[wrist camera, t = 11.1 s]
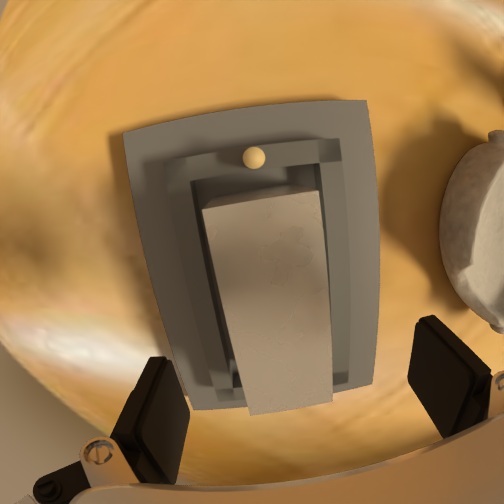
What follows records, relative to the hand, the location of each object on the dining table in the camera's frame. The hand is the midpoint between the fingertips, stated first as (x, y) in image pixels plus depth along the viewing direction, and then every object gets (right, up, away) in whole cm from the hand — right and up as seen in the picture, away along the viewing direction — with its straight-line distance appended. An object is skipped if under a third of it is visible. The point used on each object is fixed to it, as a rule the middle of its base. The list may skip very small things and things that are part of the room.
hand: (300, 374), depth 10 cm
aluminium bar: (-1, +3, +7) cm, 8 cm away
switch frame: (-1, +3, +9) cm, 9 cm away
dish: (+18, +7, +9) cm, 21 cm away
